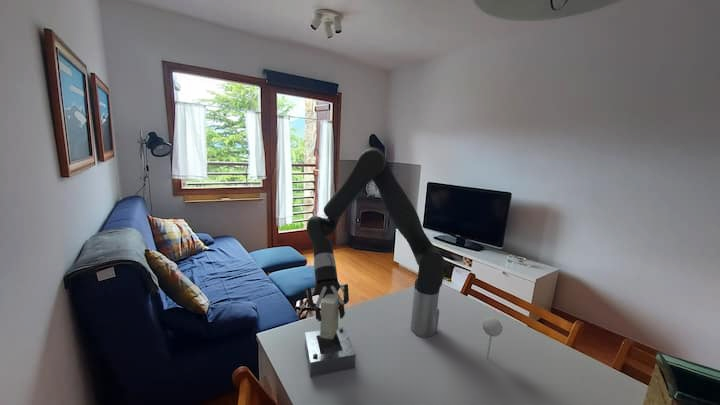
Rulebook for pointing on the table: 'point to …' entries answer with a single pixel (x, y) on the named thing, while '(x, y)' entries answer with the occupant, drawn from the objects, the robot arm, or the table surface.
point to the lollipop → (492, 328)
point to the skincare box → (329, 316)
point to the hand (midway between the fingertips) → (330, 319)
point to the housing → (329, 361)
